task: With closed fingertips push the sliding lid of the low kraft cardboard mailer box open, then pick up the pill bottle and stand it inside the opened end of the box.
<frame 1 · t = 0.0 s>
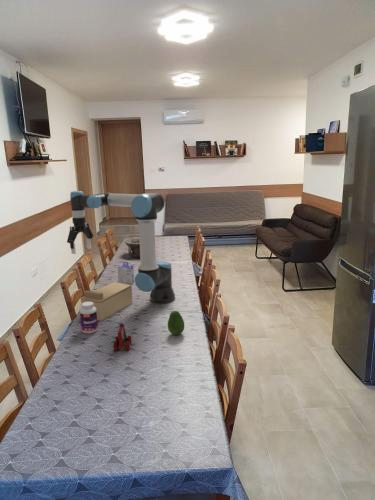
hand: (81, 251, 226), 28 cm above the table, fingers open, 13 cm apart
pill bottle: (89, 330, 182), on the table
red pointed piece: (123, 347, 166), on the table
bowl: (140, 256, 321), on the table
fruit: (176, 334, 177), on the table
ink cartridge box: (126, 283, 252), on the table
lid: (107, 289, 205), point 12 cm above the table, slide at 0.0 cm
mailer box: (108, 309, 208), on the table
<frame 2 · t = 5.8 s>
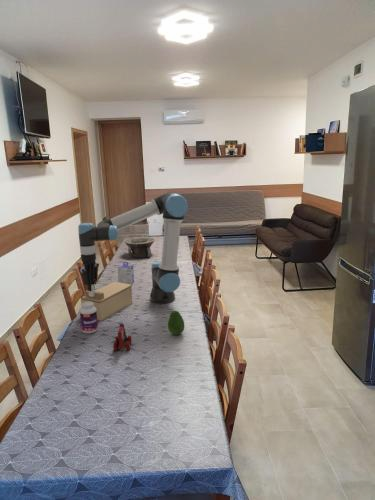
hand: (91, 296, 194), 12 cm above the table, fingers closed
lid: (107, 288, 205), point 12 cm above the table, slide at 0.7 cm, touching gripper
everything else where it was.
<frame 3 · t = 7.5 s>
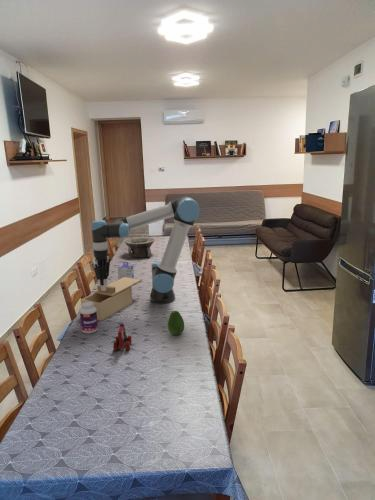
hand: (103, 290, 203), 12 cm above the table, fingers closed
lid: (118, 283, 214), point 12 cm above the table, slide at 10.4 cm, touching gripper
everything else where it was.
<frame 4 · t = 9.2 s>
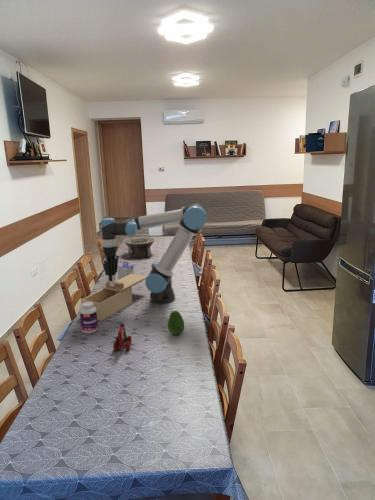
hand: (112, 285, 209), 12 cm above the table, fingers closed
lid: (126, 279, 220), point 12 cm above the table, slide at 17.9 cm, touching gripper
everything else where it was.
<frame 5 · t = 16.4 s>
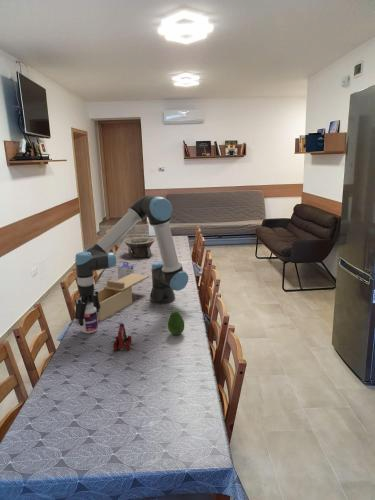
hand: (89, 327, 182), 2 cm above the table, fingers closed on pill bottle, 8 cm apart
pill bottle: (89, 330, 182), on the table, touching gripper
lid: (127, 279, 221), point 12 cm above the table, slide at 18.7 cm
everything else where it was.
when the fingers open (5 cm above the table, at t = 23.2 s): pill bottle drops 3 cm, resting on mailer box.
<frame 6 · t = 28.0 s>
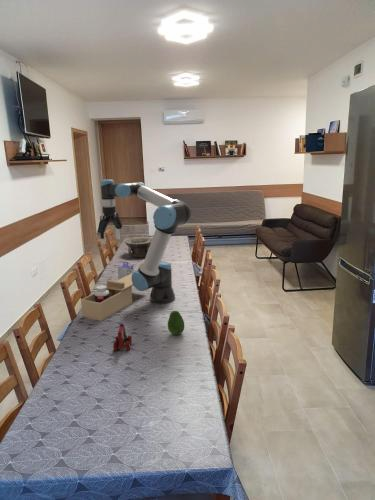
hand: (111, 241, 220), 35 cm above the table, fingers open, 13 cm apart
pill bottle: (103, 311, 203), resting on mailer box
everything else where it was.
at the end: lid slide at 18.7 cm; pill bottle inside the target area on the mailer box (0.3 cm from its centre), point 0.4 cm above the mailer box's base; pill bottle tilted 0° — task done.
